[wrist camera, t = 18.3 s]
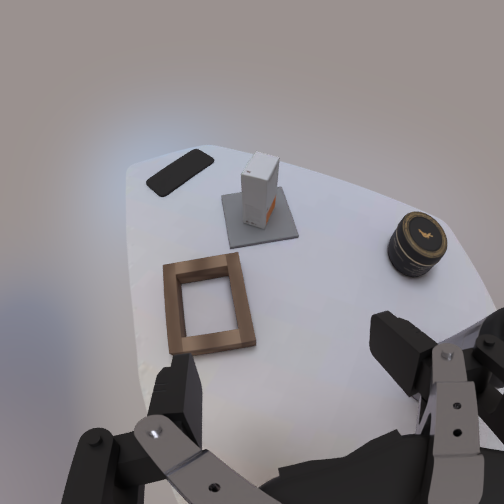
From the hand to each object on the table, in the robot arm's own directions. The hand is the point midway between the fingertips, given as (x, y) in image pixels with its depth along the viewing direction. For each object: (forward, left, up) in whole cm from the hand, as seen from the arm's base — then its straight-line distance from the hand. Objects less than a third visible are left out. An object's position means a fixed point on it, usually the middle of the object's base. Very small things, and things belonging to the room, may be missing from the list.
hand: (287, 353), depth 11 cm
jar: (-31, -16, -29) cm, 45 cm away
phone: (+9, -46, -29) cm, 55 cm away
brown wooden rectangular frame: (+6, -14, -29) cm, 32 cm away
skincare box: (-5, -29, -28) cm, 41 cm away
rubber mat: (-5, -30, -29) cm, 41 cm away
